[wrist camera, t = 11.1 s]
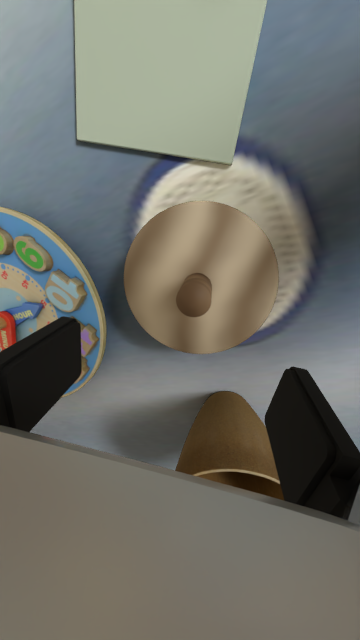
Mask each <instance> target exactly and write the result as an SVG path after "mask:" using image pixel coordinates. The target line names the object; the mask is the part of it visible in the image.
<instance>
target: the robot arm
mask: <svg viewBox="0 0 360 640" xmlns="http://www.w3.org/2000/svg"><path fill="white" fill-rule="evenodd" d="M81 372H82V361H81V326H80V323H78V321H77V320H76V319H74V318H70V317H65V316H62V317H60V318H58V319H57V320H55V321H53V322H51V323H50V324H48V325H46V326H44V327H43V328H41V329H39V330H37V331H36V332H34V333H32V334H30V335H29V336H27V337H25V338H23V339H22V340H20V341H18V342H16V343H15V344H13V345H11V346H9V347H8V348H6V349H4V350H2V351H1V352H0V640H360V452H359V450H358V449H357V447H356V446H355V444H354V442H353V441H352V439H351V438H350V436H349V435H348V433H347V431H346V430H345V428H344V427H343V425H342V424H341V422H340V421H339V419H338V417H337V416H336V414H335V413H334V411H333V410H332V408H331V406H330V405H329V403H328V402H327V400H326V399H325V397H324V396H323V394H322V392H321V391H320V389H319V388H318V386H317V385H316V383H315V381H314V380H313V378H312V377H311V375H310V374H309V372H308V371H307V370H305V369H301V368H296V367H291V368H290V369H286V370H285V371H284V373H283V375H282V378H281V380H280V382H279V385H278V387H277V389H276V391H275V394H274V396H273V398H272V401H271V403H270V405H269V407H268V410H267V412H266V415H265V425H266V429H267V433H268V437H269V441H270V445H271V449H272V453H273V457H274V461H275V465H276V469H277V473H278V477H279V481H280V485H281V489H282V493H283V497H284V501H283V500H280V499H276V498H273V497H270V496H266V495H263V494H259V493H255V492H252V491H248V490H244V489H241V488H237V487H233V486H229V485H226V484H222V483H218V482H215V481H211V480H207V479H204V478H200V477H196V476H193V475H189V474H185V473H182V472H178V471H174V470H170V469H167V468H163V467H159V466H155V465H152V464H148V463H144V462H140V461H137V460H133V459H129V458H125V457H122V456H118V455H114V454H110V453H107V452H103V451H99V450H95V449H91V448H88V447H84V446H80V445H76V444H72V443H68V442H64V441H61V440H57V439H53V438H49V437H45V436H41V435H37V434H34V433H30V430H31V429H32V428H33V427H34V426H35V425H36V424H37V423H38V422H39V421H40V420H41V418H42V417H43V416H44V415H45V414H46V413H47V412H48V411H49V410H50V409H51V408H52V406H53V405H54V404H55V403H56V402H57V401H58V400H59V399H60V398H61V397H62V396H63V394H64V393H65V392H66V391H67V390H68V389H69V388H70V387H71V386H72V385H73V384H74V383H75V381H76V380H77V379H78V378H79V377H80V375H81Z"/></svg>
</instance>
